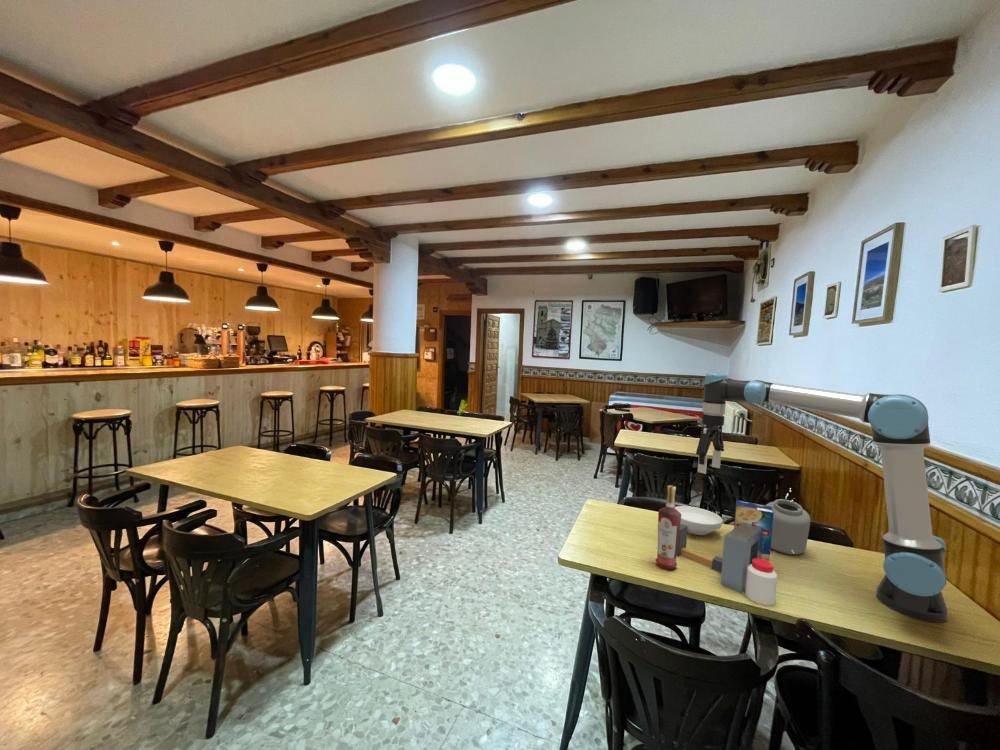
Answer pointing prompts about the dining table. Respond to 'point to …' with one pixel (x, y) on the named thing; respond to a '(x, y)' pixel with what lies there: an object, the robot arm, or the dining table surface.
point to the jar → (789, 527)
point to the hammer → (692, 555)
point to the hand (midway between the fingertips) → (709, 470)
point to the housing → (740, 554)
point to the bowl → (699, 520)
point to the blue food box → (756, 521)
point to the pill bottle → (761, 582)
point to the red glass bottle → (668, 531)
